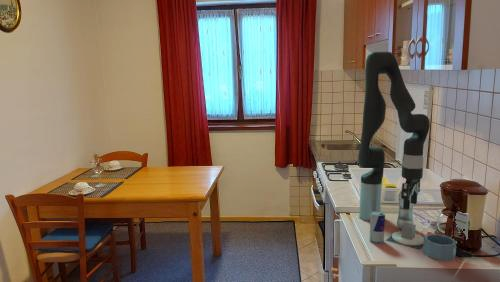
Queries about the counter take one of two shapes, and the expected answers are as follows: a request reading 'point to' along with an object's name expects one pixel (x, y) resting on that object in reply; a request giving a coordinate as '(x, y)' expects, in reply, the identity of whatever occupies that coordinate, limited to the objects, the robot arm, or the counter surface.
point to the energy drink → (377, 227)
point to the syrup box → (463, 222)
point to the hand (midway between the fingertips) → (410, 206)
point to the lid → (408, 236)
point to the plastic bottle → (404, 213)
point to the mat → (402, 244)
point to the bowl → (439, 247)
